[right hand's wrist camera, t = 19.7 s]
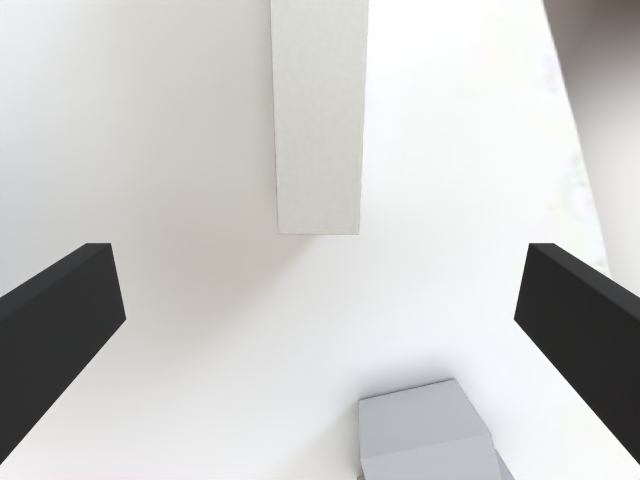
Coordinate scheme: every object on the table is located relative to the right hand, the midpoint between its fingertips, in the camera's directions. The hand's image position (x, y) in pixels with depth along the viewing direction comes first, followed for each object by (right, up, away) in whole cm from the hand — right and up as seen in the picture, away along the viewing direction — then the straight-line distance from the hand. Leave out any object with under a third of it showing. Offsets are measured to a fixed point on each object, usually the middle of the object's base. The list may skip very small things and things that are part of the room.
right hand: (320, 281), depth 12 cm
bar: (0, +18, +18) cm, 25 cm away
